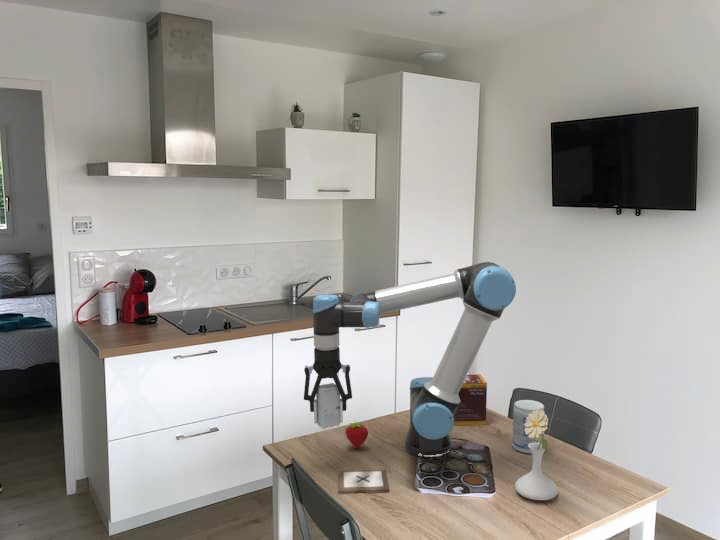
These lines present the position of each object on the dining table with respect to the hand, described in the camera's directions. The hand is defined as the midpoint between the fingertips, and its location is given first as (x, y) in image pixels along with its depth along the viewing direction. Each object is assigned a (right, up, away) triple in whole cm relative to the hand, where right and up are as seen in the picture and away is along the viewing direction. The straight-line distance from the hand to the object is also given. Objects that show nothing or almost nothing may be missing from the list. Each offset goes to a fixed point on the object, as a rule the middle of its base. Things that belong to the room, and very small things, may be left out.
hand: (328, 421), depth 181 cm
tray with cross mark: (+10, -15, -9) cm, 20 cm away
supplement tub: (+64, -12, +13) cm, 66 cm away
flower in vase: (+58, -16, -17) cm, 62 cm away
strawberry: (+8, -13, +14) cm, 21 cm away
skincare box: (0, -1, 0) cm, 1 cm away
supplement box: (+47, -9, +37) cm, 60 cm away
